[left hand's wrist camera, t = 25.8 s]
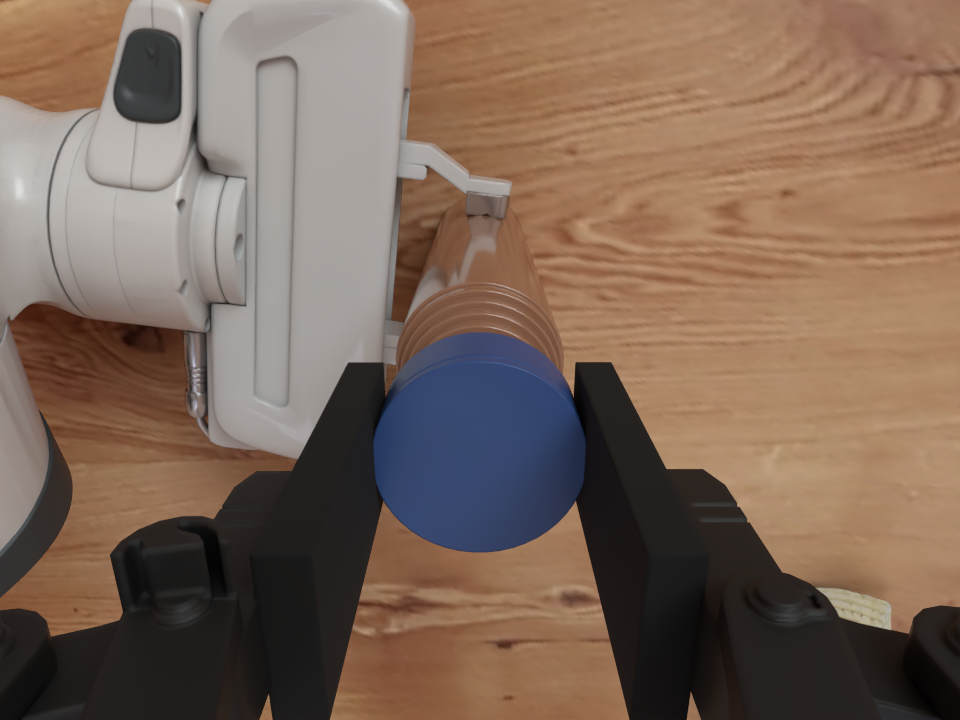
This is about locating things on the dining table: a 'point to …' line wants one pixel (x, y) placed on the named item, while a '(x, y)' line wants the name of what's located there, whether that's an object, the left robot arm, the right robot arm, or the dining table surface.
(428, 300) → the bottle
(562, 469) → the cap
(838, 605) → the seashell
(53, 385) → the dining table surface
